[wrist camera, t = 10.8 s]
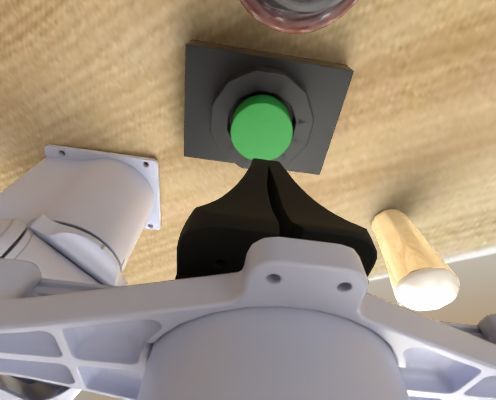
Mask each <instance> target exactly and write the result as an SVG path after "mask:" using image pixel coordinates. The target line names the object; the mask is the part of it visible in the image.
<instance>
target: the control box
mask: <svg viewBox="0 0 496 400" xmlns="http://www.w3.org/2000/svg"><path fill="white" fill-rule="evenodd" d="M353 72H354V71H353V70H352V69H351V68H350V67H348V66H347V65H344V64H338V63H332V62H325V61H319V60H313V59H307V58H301V57H294V56H288V55H282V54H276V53H270V52H263V51H257V50H251V49H245V48H238V47H232V46H226V45H220V44H214V43H207V42H201V41H195V40H191V41H189V42H188V43H187V44H186V57H185V126H184V156H186V157H193V158H201V159H208V160H215V161H223V162H230V163H235V164H237V165H238V166H240V167H242V168H246V169H249V167H250V165H251V161H252V160H250V159H248V158H246V157H244V156H243V155H241V154H240V153H239V152H238V151H237V150H236V148H235V147H234V145H233V143H232V140H231V134H230V131H231V124H232V119H233V115H234V112H235V110H236V108H237V107H238V106H239V105H240V103H242V102H243V101H244V100H245V99H247V98H249V97H251V96H255V95H269V96H272V97H275V98H276V99H278V100H280V101H281V102H282V103H283V104H284V105H285V107H286V108H287V110H288V112H289V115H290V119H291V123H292V127H293V136H292V140H291V143H290V145H289V146H288V148H287V149H286V150H285V152H284V153H282V154H281V155H280V156H278V157H277V158H275V159H272V161H279V162H280V163H281V164H282V166H283V167H284V169H285V170H288V171H296V172H303V173H310V174H318V175H320V172H321V169H322V166H323V163H324V160H325V157H326V154H327V151H328V148H329V145H330V142H331V139H332V136H333V132H334V129H335V126H336V123H337V120H338V117H339V114H340V111H341V108H342V105H343V102H344V99H345V96H346V93H347V90H348V87H349V84H350V81H351V78H352V75H353Z"/></svg>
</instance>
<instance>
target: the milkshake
mask: <svg viewBox="0 0 496 400" xmlns="http://www.w3.org/2000/svg"><path fill="white" fill-rule="evenodd" d="M371 225H372V228H373V231H374V234H375V237H376V239H377V242H378V245H379V247H380V250H381V253H382V256H383V258H384V261H385V265H386V269H387V272H388V275H389V279H390V282H391V284H392V288H393V291H394V294H395V297H396V299H397V300H398V305H399V306H401V304H402V305H404V306H405V307H408V308H410V309H413V310H417V311H427V310H436V309H439V308H441V307H443V306H444V305H446V304H448V303H450V302H452V301H453V300H454V299H455V298H456V296H457V294H458V291H459V287H460V286H459V285H460V282H459V279H458V277H457V276H456V275H455V274H454V272H453V271H452V270H451V269H450V268H449V267H448V266H447V264H446V263H445V262H444V261H443V260H442V259H441V257H440V256H439V255H438V254H437V253H436V252H435V250H434V249H433V248H432V247H431V246H430V244H429V243H428V242H427V241H426V239H425V238H424V237H423V236H422V234H421V233H420V232H419V231H418V230H417V228H416V227H415V226H414V225H413V223H412V222H411V221H410V220H409V219H408V217H407V216H406V215H405V214H404V213H403V212H401V211H398V210H396V209H392V210H384V211H382V212H381V213H379V214H378V215H376V216H375V217H374V219H373V221H372V223H371Z"/></svg>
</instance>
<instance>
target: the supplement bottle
mask: <svg viewBox="0 0 496 400" xmlns="http://www.w3.org/2000/svg"><path fill="white" fill-rule="evenodd" d="M357 1H358V0H240V2H241V4H242V5H243V6H244V8H246V10H247V11H248V12H249V13H250V14H251V15H252V16H253V17H254V18H255V19H256V20H258V21H259V22H261V23H262V24H263V25H265V26H267V27H269V28H271V29H274V30H276V31H280V32H285V33H293V34H299V33H308V32H312V31H315V30H318V29H320V28H323V27H326V26H327V25H329V24H330V23H333V22H334V21H335V20H337V19H339V18H340V17H341V16H342V15H344V14H345V13H346V12H347V11H348V10H349V9H350V8H351V7H352V6H353V5H354V4H355V3H356V2H357Z"/></svg>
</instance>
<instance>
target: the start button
mask: <svg viewBox="0 0 496 400" xmlns="http://www.w3.org/2000/svg"><path fill="white" fill-rule="evenodd" d="M230 134H231V140H232V143H233V145H234V147H235V148H236V150H237V151H238V152H239V153H240V154H241V155H243V156H244V157H246V158H248V159H250V160H252V159H254V158H258V159H265V160H272V159H275V158H277V157H278V156H280V155H281V154H282V153H284V152H285V150H286V149H287V148H288V146H289V145H290V143H291V140H292V136H293V127H292V123H291V119H290V115H289V112H288V110H287V108H286V107H285V105H284V104H283V103H282V102H281V101H280V100H278V99H276V98H275V97H272V96H269V95H255V96H251V97H249V98H247V99H245V100H244V101H243V102H242V103H240V105H239V106H238V107H237V108H236V110H235V112H234V115H233V119H232V124H231V131H230Z"/></svg>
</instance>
